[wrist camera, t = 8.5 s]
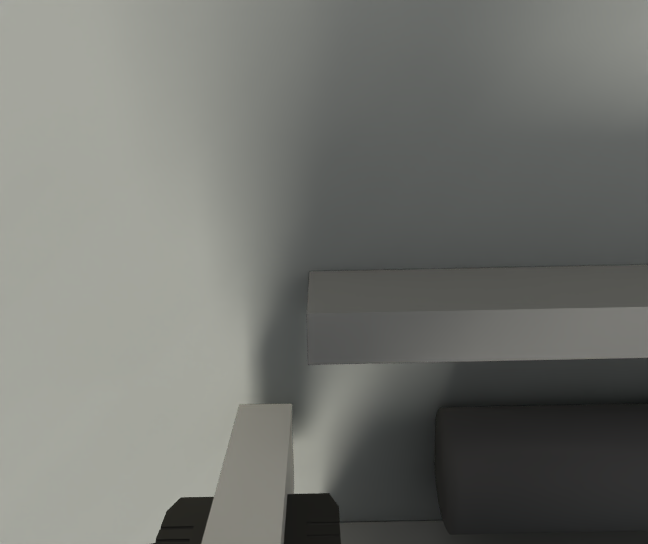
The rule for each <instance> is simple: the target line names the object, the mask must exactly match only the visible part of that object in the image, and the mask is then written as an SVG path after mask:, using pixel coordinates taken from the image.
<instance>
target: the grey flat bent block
mask: <svg viewBox="0 0 648 544" xmlns="http://www.w3.org/2000/svg"><path fill="white" fill-rule="evenodd" d="M307 347H308V365H319V364H368V363H417V362H466V361H515V360H564V359H613V358H648V265H605V266H555V267H505V268H454V269H404V270H354V271H309V286H308V301H307ZM340 537H341V544H648V531H611V532H563V533H515V534H467V535H450V534H449V533H448V532H447V530H446V528H445V525H444V522H443V520H442V521H394V522H347V523H340Z"/></svg>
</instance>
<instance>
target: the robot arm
mask: <svg viewBox="0 0 648 544" xmlns="http://www.w3.org/2000/svg"><path fill="white" fill-rule="evenodd" d="M153 544H341V537H340V520H339V506H338V505H337V504H336V502H335V501H334V499H333V498H332V497H331V495H330V494H329V493H321V494H294V464H293V422H292V404H239V407H238V411H237V415H236V418H235V422H234V426H233V429H232V433H231V437H230V440H229V444H228V448H227V451H226V455H225V459H224V462H223V466H222V470H221V473H220V477H219V481H218V484H217V488H216V492H215V495H214V497H185V498H180V499H179V500H178V501H177V502H176V503H175V504H174V505H173V506H172V507H171V508H170V509H169V510H168V511H167V512H166V515H165V517H164V520H163V522H162V525H161V530H159V533H158V535H157V538H156V543H153Z"/></svg>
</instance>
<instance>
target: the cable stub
mask: <svg viewBox="0 0 648 544" xmlns="http://www.w3.org/2000/svg"><path fill="white" fill-rule="evenodd" d="M434 465H435V478H436V487H437V494H438V500H439V506H440V511H441V515H442V519H443V522H444V525H445V528H446V530H447V532H448V533H449V534H450V535H467V534H515V533H563V532H611V531H648V403H640V404H590V405H541V406H492V407H443V408H439V410H438V412H437V415H436V425H435V462H434Z"/></svg>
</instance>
